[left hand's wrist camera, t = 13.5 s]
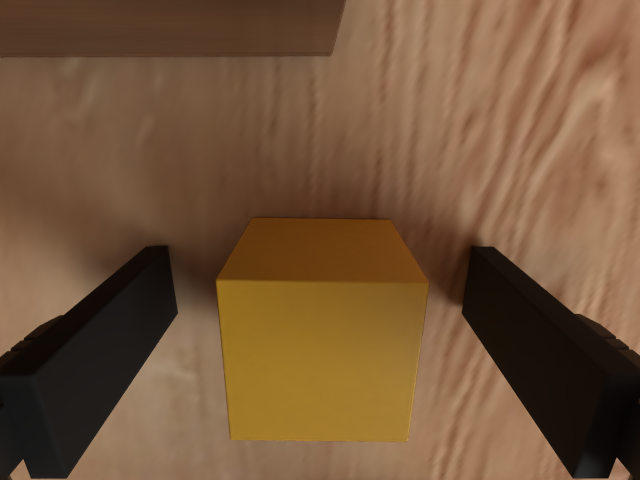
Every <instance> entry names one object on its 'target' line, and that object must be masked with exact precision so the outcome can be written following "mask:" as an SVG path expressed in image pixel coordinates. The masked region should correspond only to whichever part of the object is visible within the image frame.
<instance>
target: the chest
mask: <svg viewBox="0 0 640 480" xmlns="http://www.w3.org/2000/svg"><path fill="white" fill-rule="evenodd" d="M345 3H346V0H0V57H178V56H330V55H332V52H333V49H334V45H335V41H336V38H337V34H338V30H339V26H340V22H341V18H342V14H343V11H344V7H345Z"/></svg>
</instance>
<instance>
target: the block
mask: <svg viewBox="0 0 640 480" xmlns="http://www.w3.org/2000/svg"><path fill="white" fill-rule="evenodd" d="M428 289H429V282H428V280H427V279H426V277H425V275H424V274H423V272H422V270H421V269H420V267H419V266H418V264H417V262H416V261H415V259H414V257H413V256H412V254H411V253H410V251H409V249H408V248H407V246H406V244H405V243H404V241H403V239H402V238H401V236H400V235H399V233H398V231H397V230H396V228H395V226H394V225H393V223H392V222H391V220H379V219H315V218H252V219H251V221H250V223H249V224H248V226H247V228H246V229H245V231H244V233H243V234H242V236H241V238H240V240H239V241H238V243H237V245H236V246H235V248H234V250H233V251H232V253H231V255H230V256H229V258H228V260H227V262H226V263H225V265H224V267H223V268H222V270H221V272H220V273H219V275H218V277H217V278H216V291H217V302H218V313H219V324H220V335H221V346H222V357H223V367H224V378H225V389H226V400H227V411H228V422H229V433H230V439H231V440H290V441H378V442H407V441H408V438H409V430H410V423H411V415H412V408H413V401H414V393H415V386H416V378H417V371H418V363H419V356H420V348H421V341H422V334H423V326H424V319H425V311H426V304H427V296H428Z"/></svg>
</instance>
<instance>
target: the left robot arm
mask: <svg viewBox="0 0 640 480" xmlns="http://www.w3.org/2000/svg"><path fill="white" fill-rule="evenodd" d="M177 314H178V311H177V304H176V298H175V292H174V285H173V279H172V273H171V266H170V260H169V254H168V247H145V248H144V249H143V250H142V251H140V252H139V253H138V254H137V255H136V256H134V257H133V258H132V259H131V260H130V261H128V262H127V263H126V264H125V265H123V266H122V267H121V268H120V269H119V270H117V271H116V272H115V273H114V274H113V275H111V276H110V277H109V278H108V279H107V280H105V281H104V282H103V283H102V284H101V285H99V286H98V287H97V288H96V289H95V290H93V291H92V292H91V293H90V294H89V295H87V296H86V297H85V298H84V299H83V300H81V301H80V302H79V303H78V304H77V305H75V306H74V307H73V308H72V309H70V310H69V311H68V312H67V313H66V314H64V315H60V316H58V317H56V318H54V319H52V320H50V321H48V322H46V323H44V324H42V325H40V326H39V327H37V328H36V329H35V330H34V331H32V332H31V333H30V334H29V335H27V336H26V337H25V338H24V340H23V341H20V342H19V343H17V344H16V345H15V346H13V347H12V348H11V351H7V352H6V353H5V354H3V355H2V356H1V357H0V480H12V479H11V476H10V474H11V473H12V472H13V470H14V469H15V468H16V467H17V466H18V464H19V463H20V462H21V461H22V460H23V459H24V462H25V464H26V467H27V469H28V472H29V474H30V477H31V479H65V478H67V477H68V476H69V474H70V473H71V471H72V470H73V468H74V467H75V465H76V464H77V462H78V461H79V459H80V458H81V456H82V455H83V453H84V452H85V450H86V449H87V447H88V446H89V444H90V443H91V442H92V440H93V439H94V437H95V436H96V434H97V433H98V431H99V430H100V428H101V427H102V425H103V424H104V422H105V421H106V419H107V418H108V416H109V415H110V413H111V412H112V410H113V409H114V407H115V406H116V404H117V403H118V401H119V400H120V398H121V397H122V395H123V394H124V392H125V391H126V390H127V388H128V387H129V385H130V384H131V382H132V381H133V379H134V378H135V376H136V375H137V373H138V372H139V370H140V369H141V367H142V366H143V364H144V363H145V361H146V360H147V358H148V357H149V355H150V354H151V352H152V351H153V349H154V348H155V346H156V345H157V343H158V342H159V340H160V339H161V338H162V336H163V335H164V333H165V332H166V330H167V329H168V327H169V326H170V324H171V323H172V321H173V320H174V318H175V317H176V315H177ZM462 314H463V316H464V317H465V319H466V320H467V322H468V323H469V325H470V326H471V328H472V329H473V331H474V332H475V334H476V335H477V337H478V338H479V340H480V341H481V343H482V344H483V346H484V347H485V349H486V350H487V352H488V353H489V355H490V356H491V358H492V359H493V361H494V362H495V363H496V365H497V366H498V368H499V369H500V371H501V372H502V374H503V375H504V377H505V378H506V380H507V381H508V383H509V384H510V386H511V387H512V389H513V390H514V392H515V393H516V395H517V396H518V398H519V399H520V401H521V402H522V404H523V405H524V407H525V408H526V410H527V411H528V413H529V414H530V415H531V417H532V418H533V420H534V421H535V423H536V424H537V426H538V427H539V429H540V430H541V432H542V433H543V435H544V436H545V438H546V439H547V441H548V442H549V444H550V445H551V447H552V448H553V450H554V451H555V453H556V454H557V456H558V457H559V459H560V460H561V462H562V463H563V465H564V466H565V467H566V469H567V470H568V472H569V473H570V475H571V476H572V478H609V475H610V473H611V470H612V468H613V465H614V463H615V460H616V457H617V458H618V459H619V460H620V462H621V463H622V464H623V465H624V466H625V468H626V469H627V470H628V471H629V472H630V476H629V479H628V480H640V355H638V354H637V353H636V352H635V351H633V350H629V347H628V346H627V345H626V344H624V343H623V342H622V341H621V340H619V339H616V336H614V335H613V334H612V333H611V332H609V331H608V330H607V329H605V328H604V327H603V326H602V325H600V324H599V323H597V322H595V321H593V320H591V319H589V318H587V317H585V316H583V315H581V314H574V313H573V312H571V311H570V310H569V309H568V308H567V307H565V306H564V305H563V304H562V303H561V302H559V301H558V300H557V299H556V298H555V297H553V296H552V295H551V294H550V293H548V292H547V291H546V290H545V289H544V288H542V287H541V286H540V285H539V284H538V283H536V282H535V281H534V280H533V279H532V278H530V277H529V276H528V275H527V274H526V273H524V272H523V271H522V270H521V269H520V268H518V267H517V266H516V265H515V264H514V263H512V262H511V261H510V260H509V259H508V258H506V257H505V256H504V255H503V254H502V253H500V252H499V251H498V250H497V249H495V248H494V247H472V250H471V256H470V263H469V269H468V276H467V282H466V288H465V295H464V301H463V308H462Z"/></svg>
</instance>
